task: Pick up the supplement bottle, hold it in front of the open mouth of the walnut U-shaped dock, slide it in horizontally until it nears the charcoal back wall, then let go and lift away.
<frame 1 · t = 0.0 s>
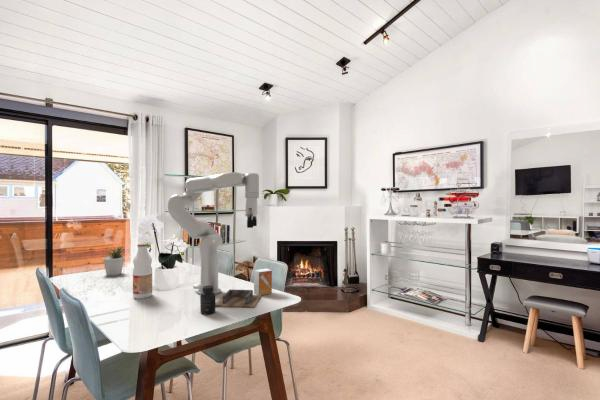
hand: (252, 226, 189), 37 cm above the table, tool pointing down, fingers open, 9 cm apart
fruit juice: (142, 296, 183), on the table
dock: (238, 301, 175), on the table
small box: (262, 293, 189), on the table
supplement bottle: (207, 312, 158), on the table
potted plant: (114, 274, 233), on the table
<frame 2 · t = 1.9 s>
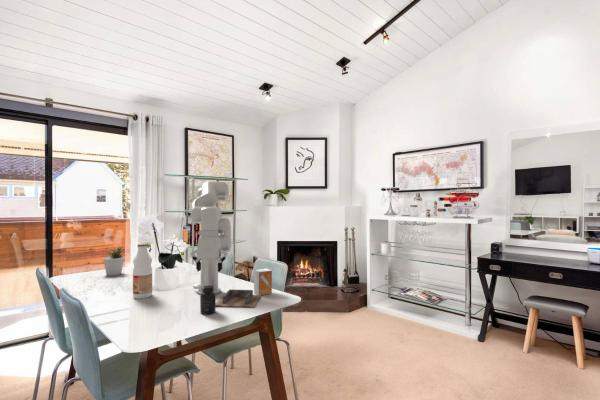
hand: (209, 270, 158), 19 cm above the table, tool pointing down, fingers open, 9 cm apart
nothing on the table moved.
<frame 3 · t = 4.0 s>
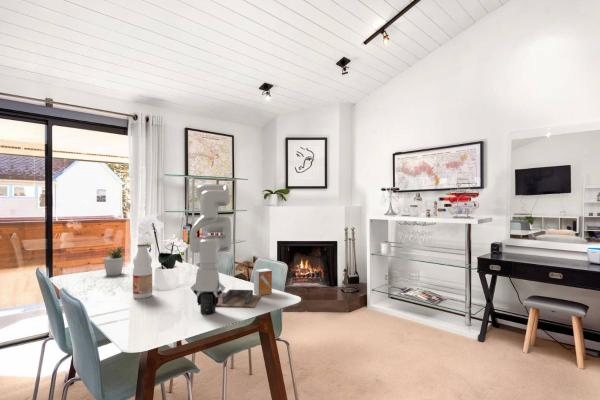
hand: (207, 304, 158), 4 cm above the table, tool pointing down, fingers closed on supplement bottle, 6 cm apart
supplement bottle: (207, 312, 158), on the table, touching gripper
everything else where it was.
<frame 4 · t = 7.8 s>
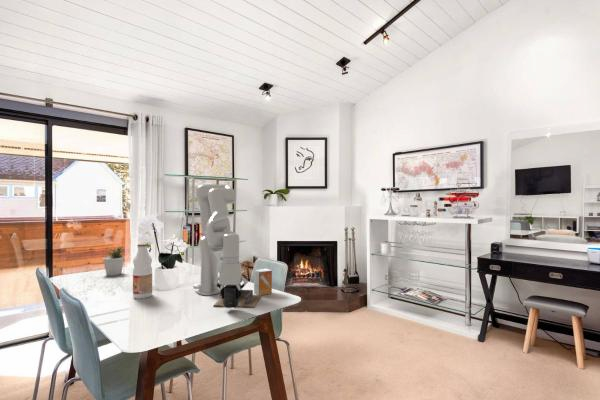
hand: (230, 297, 161), 6 cm above the table, tool pointing down, fingers closed on supplement bottle, 6 cm apart
supplement bottle: (230, 306, 161), point 2 cm above the table, touching gripper
everything else where it was.
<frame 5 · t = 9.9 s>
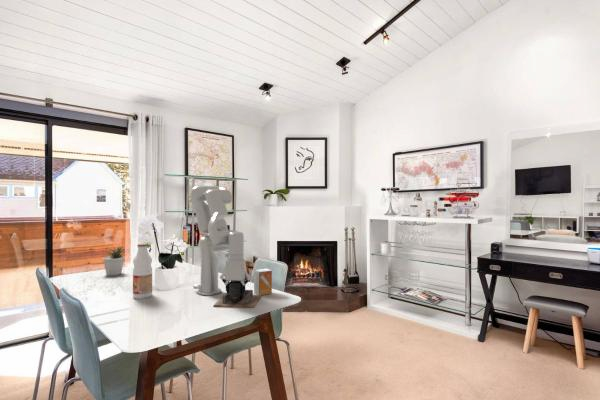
hand: (235, 292, 170), 6 cm above the table, tool pointing down, fingers closed on supplement bottle, 6 cm apart
supplement bottle: (235, 300, 170), point 2 cm above the table, touching gripper
everything else where it was.
when the fingers open (6 cm above the table, at t = 11.8 s): supplement bottle drops 1 cm, resting on dock.
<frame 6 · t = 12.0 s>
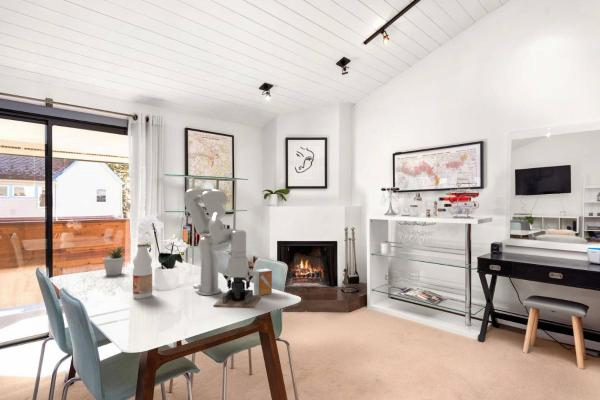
hand: (238, 288, 175), 7 cm above the table, tool pointing down, fingers open, 8 cm apart
supplement bottle: (238, 299, 175), point 1 cm above the table, touching dock
everything else where it was.
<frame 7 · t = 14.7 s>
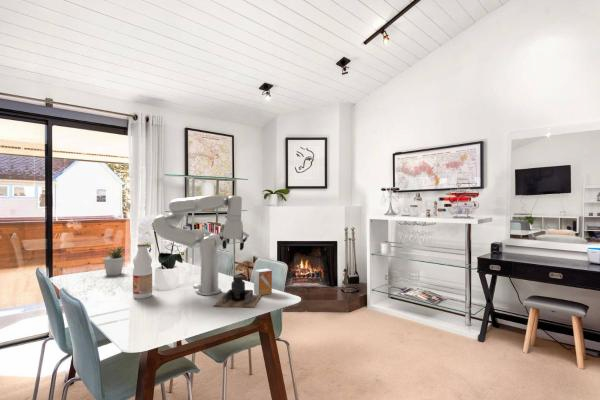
hand: (232, 249, 189), 24 cm above the table, tool pointing down, fingers open, 9 cm apart
nothing on the table moved.
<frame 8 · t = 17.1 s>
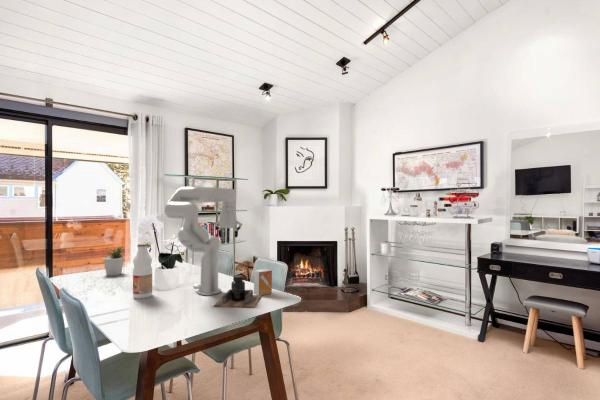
hand: (228, 237, 210), 28 cm above the table, tool pointing down, fingers open, 9 cm apart
nothing on the table moved.
at the end: supplement bottle 0.9 cm off-centre on the dock, point 0.6 cm above the dock's base; supplement bottle tilted 0°; the gripper is holding nothing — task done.
